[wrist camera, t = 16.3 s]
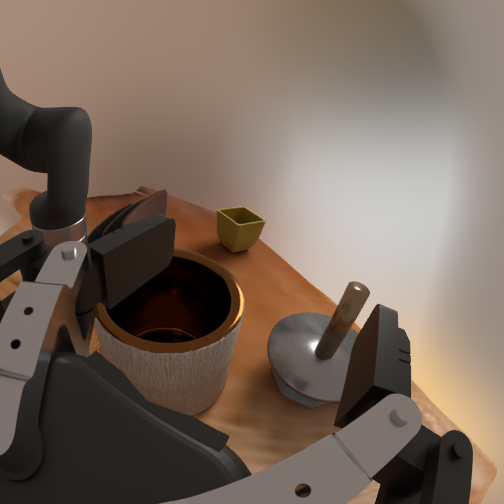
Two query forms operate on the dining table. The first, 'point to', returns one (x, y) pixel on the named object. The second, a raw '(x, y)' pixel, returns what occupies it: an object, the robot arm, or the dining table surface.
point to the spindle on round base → (317, 347)
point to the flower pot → (238, 228)
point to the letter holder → (131, 214)
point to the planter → (176, 333)
